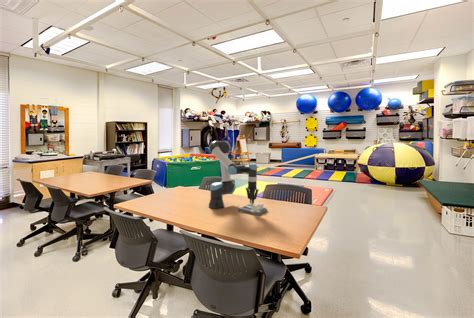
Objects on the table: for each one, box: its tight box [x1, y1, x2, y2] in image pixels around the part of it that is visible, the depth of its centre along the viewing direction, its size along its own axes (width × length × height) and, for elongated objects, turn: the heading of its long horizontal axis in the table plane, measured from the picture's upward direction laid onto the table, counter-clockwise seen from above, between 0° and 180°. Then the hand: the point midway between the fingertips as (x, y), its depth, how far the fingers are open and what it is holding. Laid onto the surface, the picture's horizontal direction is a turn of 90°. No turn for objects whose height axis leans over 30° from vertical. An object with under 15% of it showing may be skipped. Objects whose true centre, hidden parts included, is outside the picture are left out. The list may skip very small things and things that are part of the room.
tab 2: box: [256, 202, 264, 210], centre depth 225 cm, size 4×4×5 cm
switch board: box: [237, 204, 268, 217], centre depth 226 cm, size 22×16×3 cm
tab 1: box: [251, 203, 258, 211], centre depth 220 cm, size 4×4×5 cm
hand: (251, 206), depth 222 cm, fingers closed
